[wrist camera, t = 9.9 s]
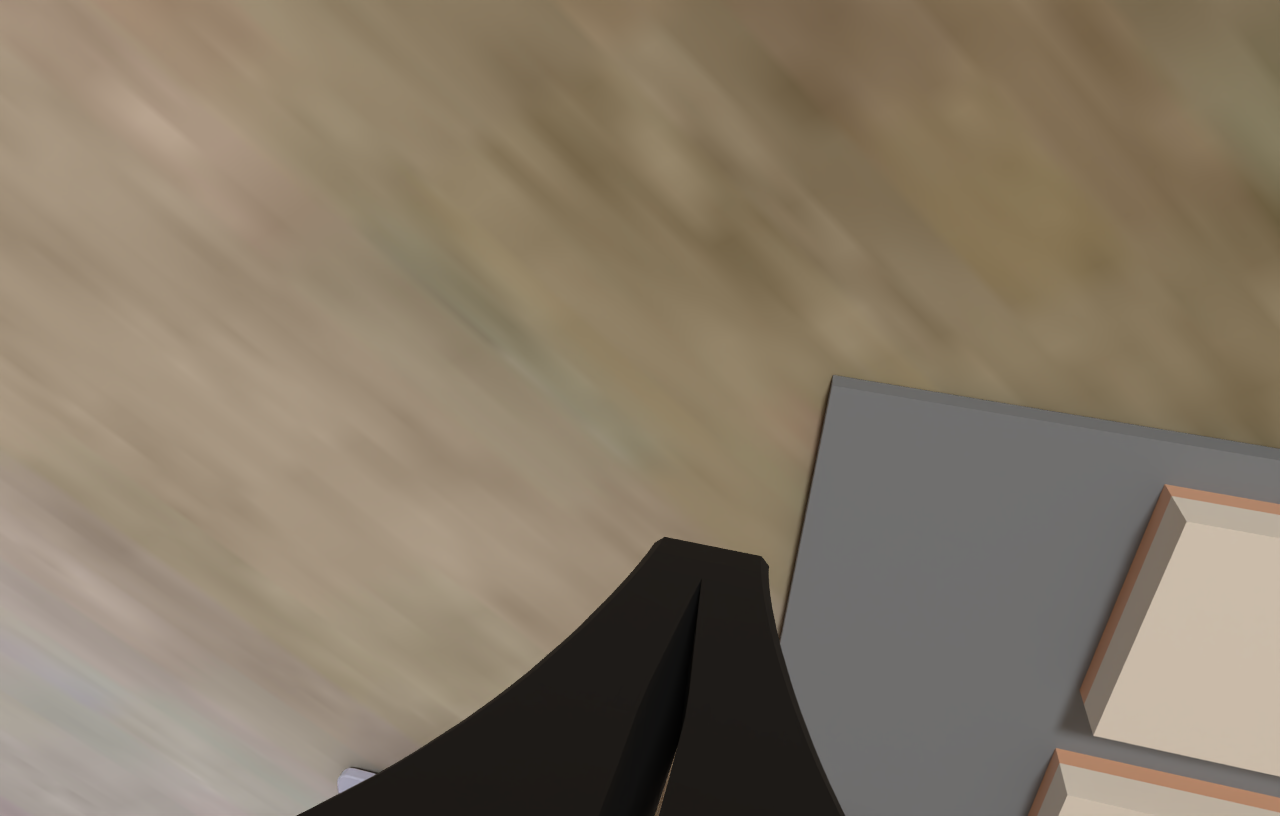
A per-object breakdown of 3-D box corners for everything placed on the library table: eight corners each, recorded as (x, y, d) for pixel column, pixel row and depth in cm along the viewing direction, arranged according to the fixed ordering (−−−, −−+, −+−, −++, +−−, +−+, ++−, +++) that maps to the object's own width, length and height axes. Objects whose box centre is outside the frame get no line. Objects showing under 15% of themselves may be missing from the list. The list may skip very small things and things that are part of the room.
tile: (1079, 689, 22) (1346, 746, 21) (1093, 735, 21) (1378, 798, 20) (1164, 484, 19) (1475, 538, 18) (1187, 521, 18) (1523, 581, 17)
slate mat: (1260, 969, 25) (1269, 990, 25) (739, 838, 28) (737, 855, 27) (1574, 497, 18) (1596, 513, 18) (833, 375, 20) (832, 385, 20)
